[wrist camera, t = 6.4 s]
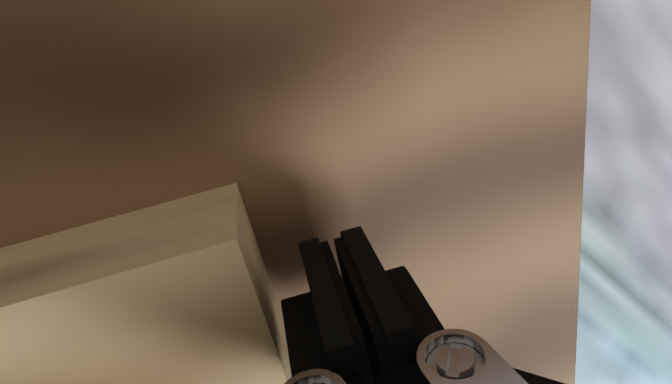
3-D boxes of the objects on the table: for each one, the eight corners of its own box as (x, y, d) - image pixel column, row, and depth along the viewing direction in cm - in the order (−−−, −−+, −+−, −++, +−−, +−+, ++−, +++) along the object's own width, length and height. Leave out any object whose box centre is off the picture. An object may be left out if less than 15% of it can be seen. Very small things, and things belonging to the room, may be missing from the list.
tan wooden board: (505, 330, 22) (573, 413, 18) (141, 444, 21) (115, 569, 16) (483, -157, 14) (600, -232, 9) (-135, -39, 12) (-354, -62, 8)
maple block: (295, 355, 14) (309, 441, 11) (99, 417, 13) (65, 523, 11) (236, 182, 11) (236, 239, 9) (-8, 250, 11) (-90, 333, 8)
